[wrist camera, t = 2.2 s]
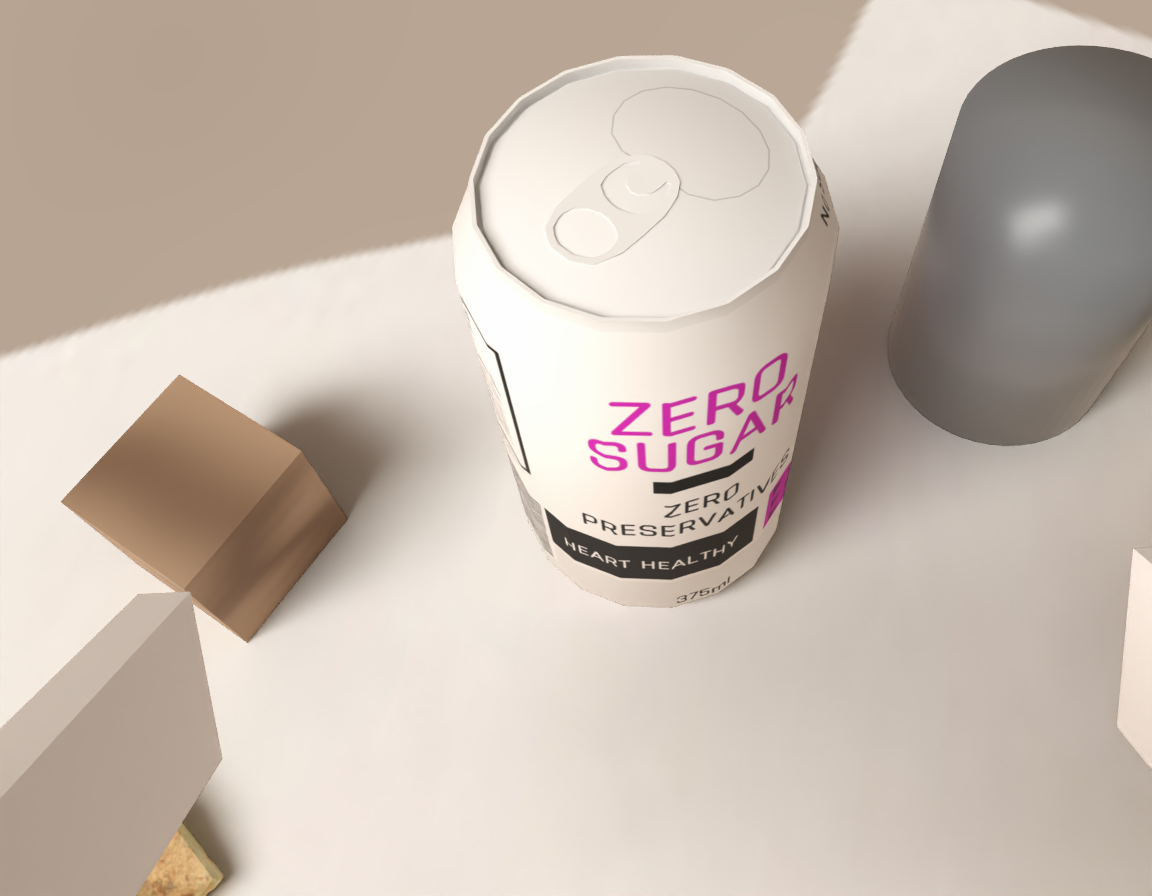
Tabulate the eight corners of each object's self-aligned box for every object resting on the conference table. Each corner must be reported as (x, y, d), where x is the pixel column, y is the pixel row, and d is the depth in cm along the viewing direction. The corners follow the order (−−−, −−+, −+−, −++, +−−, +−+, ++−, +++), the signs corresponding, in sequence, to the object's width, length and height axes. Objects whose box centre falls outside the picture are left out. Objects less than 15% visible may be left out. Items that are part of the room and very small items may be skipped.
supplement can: (642, 346, 37) (625, -18, 24) (832, 487, 34) (934, 159, 21) (476, 502, 35) (356, 196, 22) (664, 669, 32) (658, 432, 19)
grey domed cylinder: (978, 238, 38) (1069, 8, 29) (1146, 356, 35) (1303, 142, 27) (844, 352, 36) (899, 143, 28) (1010, 486, 34) (1130, 302, 25)
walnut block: (238, 449, 37) (179, 374, 32) (348, 519, 35) (301, 450, 31) (137, 564, 35) (60, 501, 31) (248, 643, 33) (183, 589, 29)
